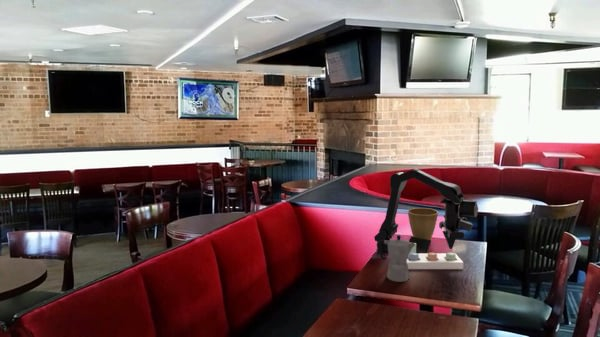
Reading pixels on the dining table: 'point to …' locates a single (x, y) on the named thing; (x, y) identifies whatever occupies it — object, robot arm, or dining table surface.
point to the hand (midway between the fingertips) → (450, 248)
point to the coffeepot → (397, 258)
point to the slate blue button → (413, 256)
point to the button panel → (433, 261)
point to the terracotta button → (432, 256)
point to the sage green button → (450, 256)
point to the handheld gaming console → (420, 244)
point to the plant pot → (422, 222)
